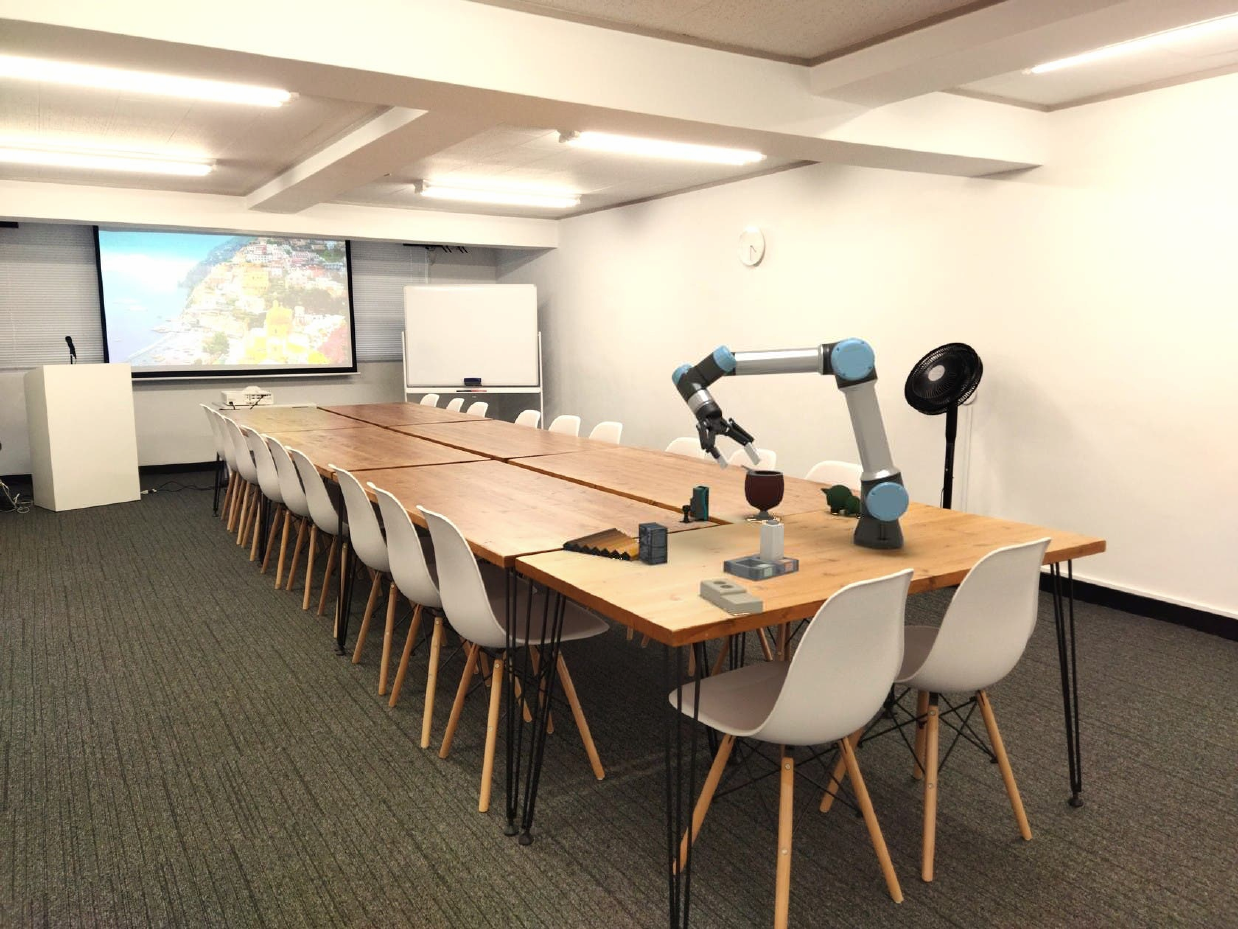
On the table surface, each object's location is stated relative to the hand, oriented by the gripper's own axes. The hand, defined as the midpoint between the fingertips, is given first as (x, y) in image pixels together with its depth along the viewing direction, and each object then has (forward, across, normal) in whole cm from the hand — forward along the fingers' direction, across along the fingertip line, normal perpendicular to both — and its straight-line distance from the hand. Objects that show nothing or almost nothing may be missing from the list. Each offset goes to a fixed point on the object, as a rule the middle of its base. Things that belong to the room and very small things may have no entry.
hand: (742, 464), depth 244 cm
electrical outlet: (+40, +35, 0) cm, 53 cm away
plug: (+28, +2, -10) cm, 30 cm away
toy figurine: (+7, -79, -33) cm, 86 cm away
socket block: (+29, +7, -10) cm, 31 cm away
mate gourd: (-5, -48, -44) cm, 65 cm away
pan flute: (-3, +18, -43) cm, 47 cm away
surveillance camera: (-15, -28, -54) cm, 62 cm away
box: (+10, +22, -29) cm, 38 cm away
